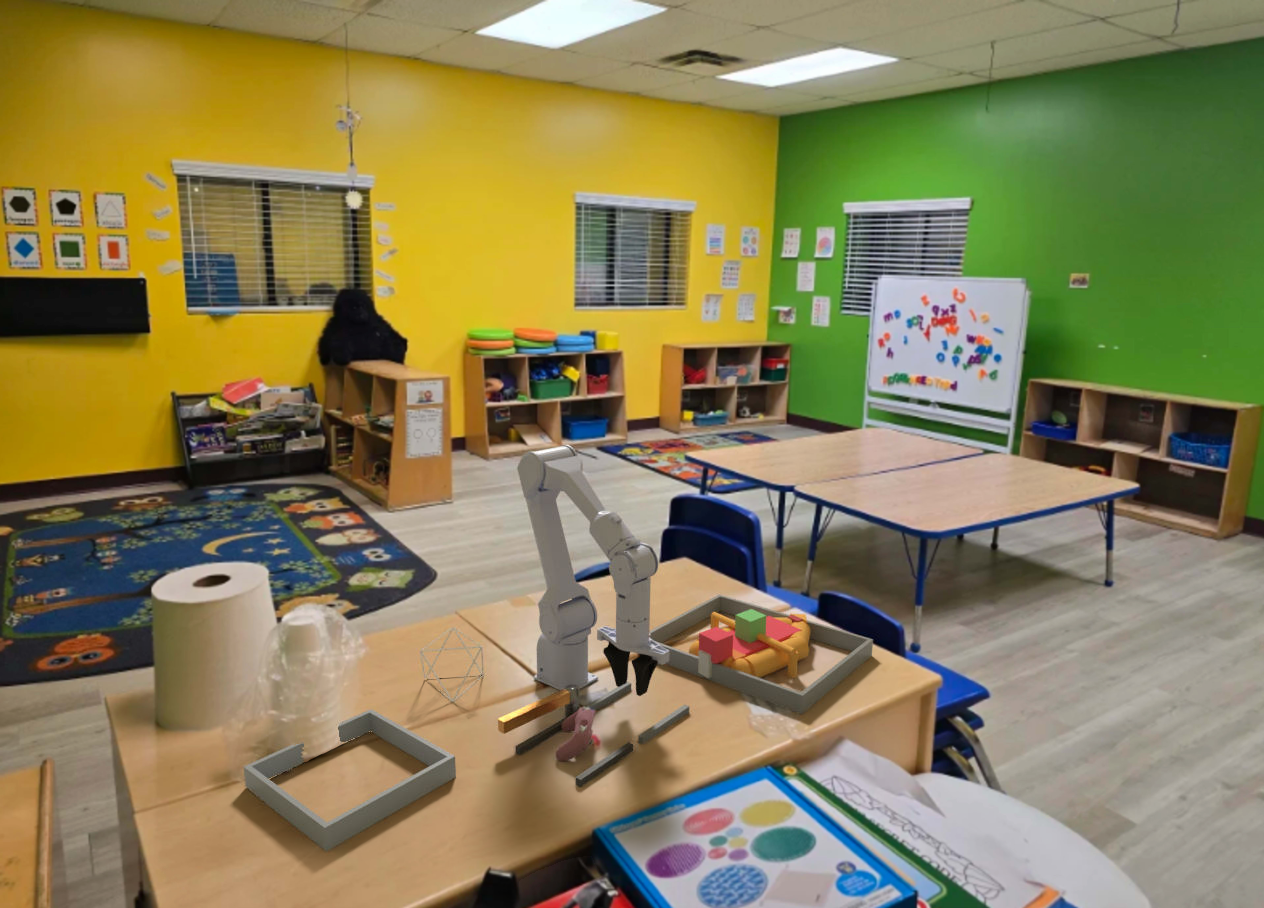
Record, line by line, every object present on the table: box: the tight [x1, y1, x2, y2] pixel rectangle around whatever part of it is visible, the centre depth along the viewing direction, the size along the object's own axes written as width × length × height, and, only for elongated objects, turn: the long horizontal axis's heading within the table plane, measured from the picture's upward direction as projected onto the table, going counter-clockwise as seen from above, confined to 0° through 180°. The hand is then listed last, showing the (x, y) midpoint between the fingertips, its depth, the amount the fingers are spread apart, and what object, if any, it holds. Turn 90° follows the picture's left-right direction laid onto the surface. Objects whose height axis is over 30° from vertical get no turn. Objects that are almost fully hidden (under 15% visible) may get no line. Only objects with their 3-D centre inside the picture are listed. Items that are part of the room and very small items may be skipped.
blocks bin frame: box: [637, 594, 874, 715], centre depth 168 cm, size 37×30×4 cm
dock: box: [514, 681, 690, 788], centre depth 140 cm, size 14×28×1 cm, turn 141°
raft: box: [688, 609, 811, 679], centre depth 167 cm, size 23×30×9 cm
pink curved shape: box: [555, 705, 597, 762], centre depth 135 cm, size 10×5×7 cm, turn 178°
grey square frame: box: [243, 708, 457, 852], centre depth 125 cm, size 22×22×4 cm
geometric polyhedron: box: [419, 626, 485, 703], centre depth 154 cm, size 12×11×9 cm
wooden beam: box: [497, 684, 580, 735], centre depth 139 cm, size 16×2×5 cm, turn 136°
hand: (631, 688), depth 145 cm, fingers open, 4 cm apart
